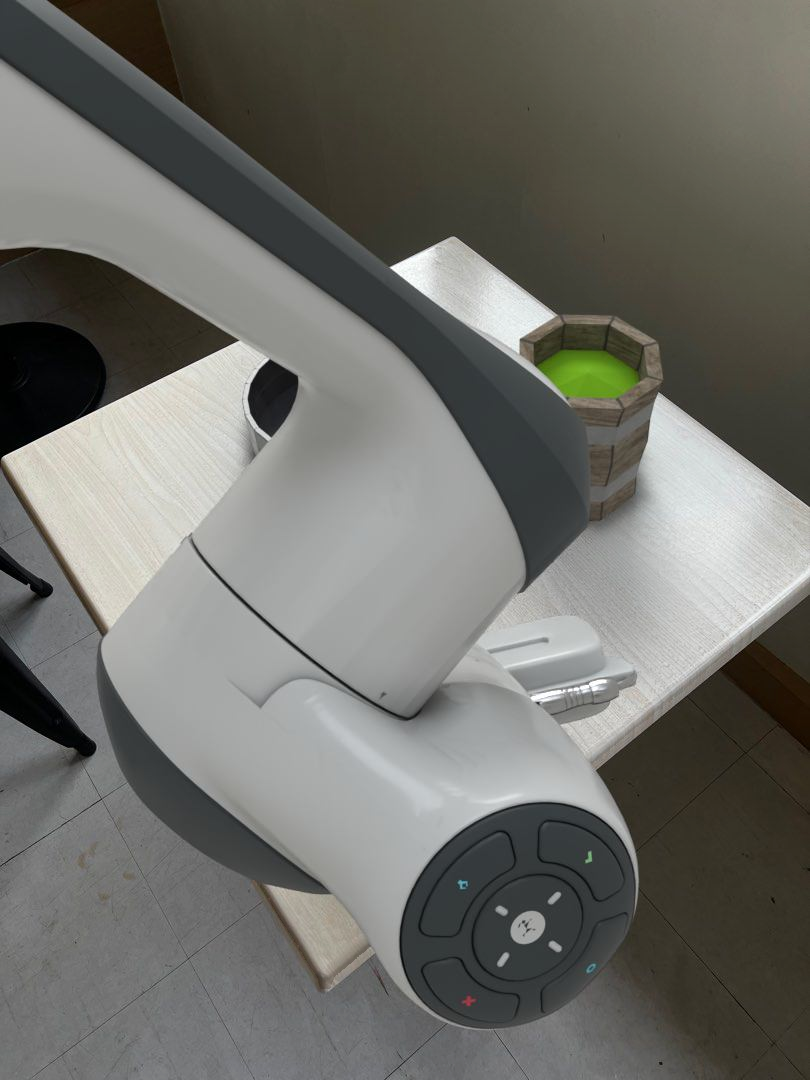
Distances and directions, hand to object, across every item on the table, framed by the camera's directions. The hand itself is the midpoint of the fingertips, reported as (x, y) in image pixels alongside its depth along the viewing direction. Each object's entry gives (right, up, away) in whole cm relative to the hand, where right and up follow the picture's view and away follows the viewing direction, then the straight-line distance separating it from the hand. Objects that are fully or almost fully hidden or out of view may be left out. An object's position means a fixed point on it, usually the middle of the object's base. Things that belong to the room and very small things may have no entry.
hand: (393, 660), depth 53 cm
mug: (+12, +13, +21) cm, 28 cm away
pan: (-5, +16, +24) cm, 29 cm away
